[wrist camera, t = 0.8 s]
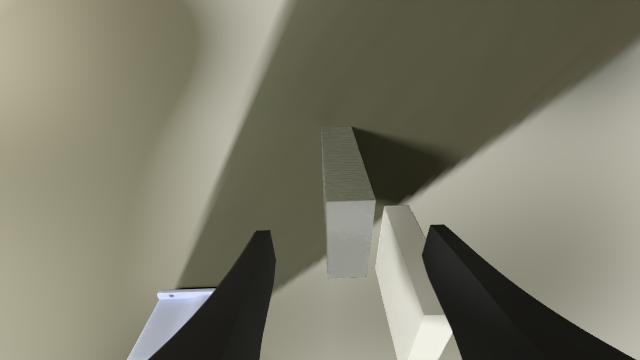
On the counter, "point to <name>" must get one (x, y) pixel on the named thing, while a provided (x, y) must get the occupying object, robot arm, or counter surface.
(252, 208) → the counter surface
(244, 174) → the counter surface
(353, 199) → the pale grey upright block
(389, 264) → the tile
